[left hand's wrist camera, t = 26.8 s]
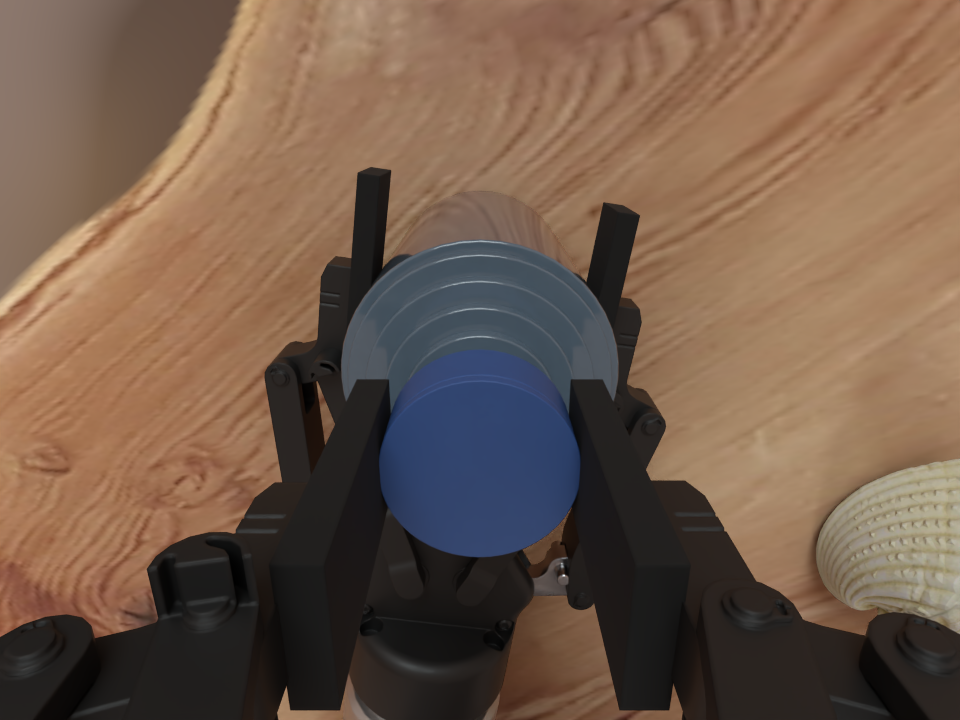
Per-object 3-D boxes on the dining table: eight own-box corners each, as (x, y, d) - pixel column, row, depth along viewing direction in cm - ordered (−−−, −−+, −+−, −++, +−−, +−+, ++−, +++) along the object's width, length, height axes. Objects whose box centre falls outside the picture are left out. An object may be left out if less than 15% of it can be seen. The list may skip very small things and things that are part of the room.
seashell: (783, 607, 34) (875, 550, 28) (811, 490, 39) (894, 420, 33) (934, 695, 32) (1069, 654, 26) (943, 560, 37) (1057, 500, 31)
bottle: (557, 179, 28) (656, 255, 12) (570, 346, 31) (664, 581, 15) (381, 202, 29) (259, 304, 13) (410, 364, 31) (339, 613, 16)
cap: (533, 321, 14) (541, 349, 12) (593, 476, 15) (607, 522, 14) (359, 386, 14) (342, 423, 13) (432, 530, 16) (426, 581, 14)
